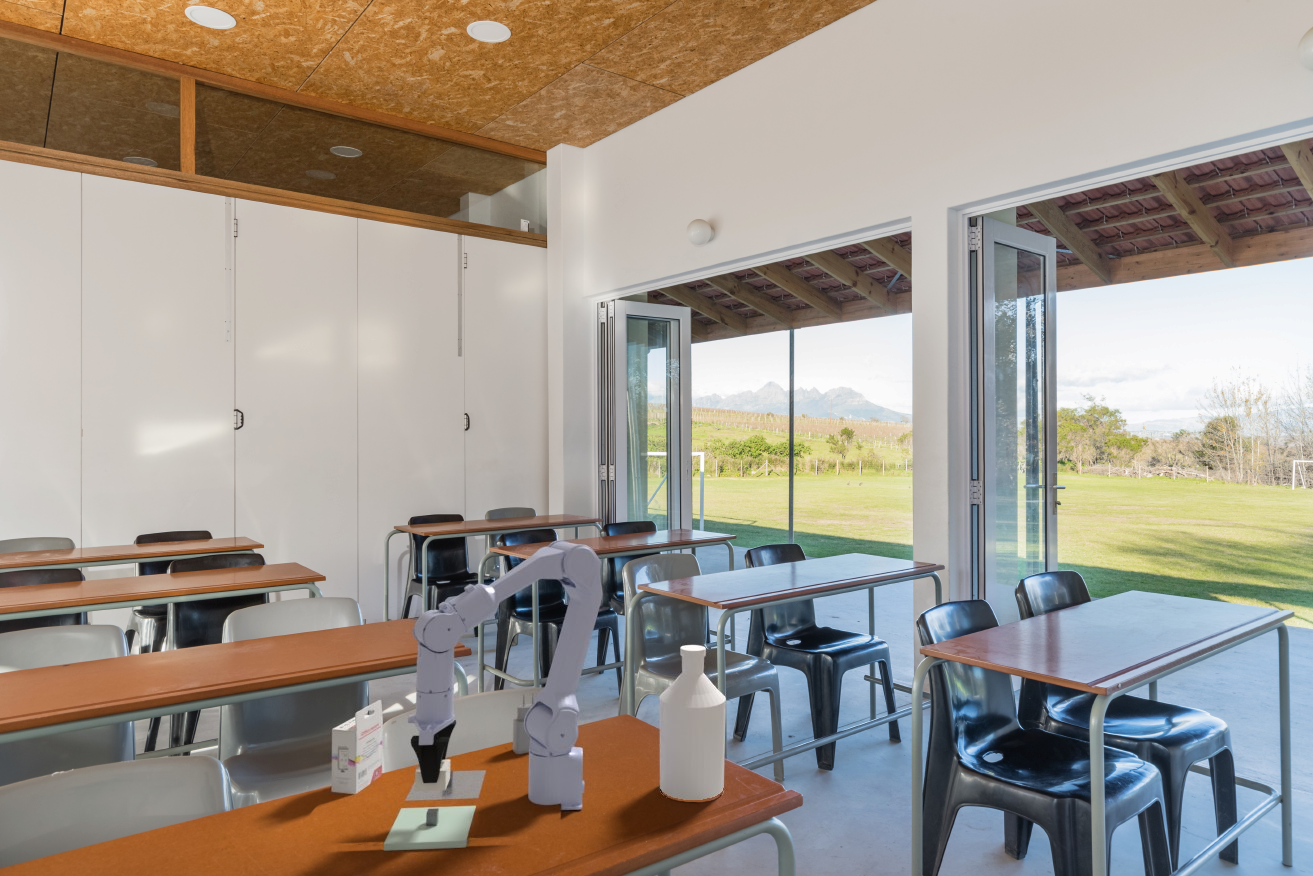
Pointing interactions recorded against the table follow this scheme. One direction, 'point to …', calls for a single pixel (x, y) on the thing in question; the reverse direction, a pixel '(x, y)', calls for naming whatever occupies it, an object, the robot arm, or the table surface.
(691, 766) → the bottle
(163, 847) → the table surface
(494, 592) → the robot arm
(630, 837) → the table surface
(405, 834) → the sage hub plate
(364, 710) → the ink cartridge box
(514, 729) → the power adapter
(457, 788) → the grey stand plate
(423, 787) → the cream ring
